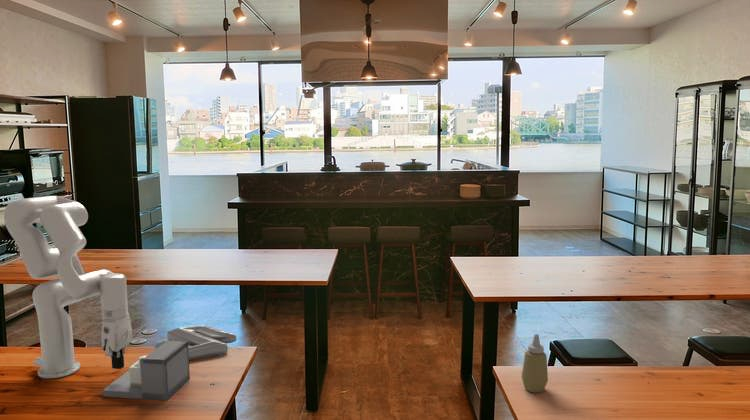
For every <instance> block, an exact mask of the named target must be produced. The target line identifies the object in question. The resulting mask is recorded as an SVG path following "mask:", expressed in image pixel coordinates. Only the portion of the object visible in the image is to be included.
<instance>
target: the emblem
mask: <svg viewBox="0 0 750 420" xmlns="http://www.w3.org/2000/svg"><path fill="white" fill-rule="evenodd" d="M166 334H167V338H166V340H174V341H188V353H189V361H193V360H201V359H205V357H207V358H211V357H210V356H212V357H215V356H214V355H217V356H220V355H219V354H223V355H226V354H225V353H227V354H228V351H229V350H228V345H227V344H232V343H234V342H236V341H237V336H236V335H235V334H234V333H230V332H228V331H227V332H226V331H224V330H221V329H218V328H215V327H212V326H207V325H197V326H185V327H177V328H174V329H171V330H169V331H168V330H167V333H166ZM162 344H163V341H162V342H157V343H156V344H154V350H155V349H157V348H158V347H159V346H161V345H162ZM200 358H201V359H200Z"/></svg>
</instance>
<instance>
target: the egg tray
mask: <svg viewBox="0 0 750 420" xmlns="http://www.w3.org/2000/svg"><path fill="white" fill-rule="evenodd" d="M146 356H147V355H142V356H140V357H138V360H137V361H136V362H135V363H133V364H132V365H131V366H129V368H128V369H129V370H128V371H130V385H131V386H142V385H141V370H140V358H141V357H146Z"/></svg>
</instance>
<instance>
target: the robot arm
mask: <svg viewBox="0 0 750 420" xmlns="http://www.w3.org/2000/svg"><path fill="white" fill-rule="evenodd" d="M3 211H4V212H3V221H4V225H5V227H6V229H7V231H8V233H9V234H10V236H11V238H12V239H13V240H14V242H15V243H16V246H17V248H18V251H19V253H20V256H21V258H22V261H23V264H24V266H25V269H26V271H27V272H28V273H27V274H29V276H30V277H31V279H35V280H42V279H47V278H51V277H52V278H53V277H55V276H57V277H58V278H56V279H55V278H54V279H52V280H47V281H45V282H43V283H40V284H38V285H37V286H36V287H34V289H33V291H32V301H33V304H34V307H35V311H36V315H37V322H38V330H39V332H38V333H39V341H40V342H39V343H40V351H41V356H36V357H35V359H34V361H33V363H32V365H33V366H39V369H38V370H37V376H38V377H39V378H42V379H57V378H62V377H66V376H69V375H72V374H74V373H75V372H77V371H78V370H80V368H81V363H80V361H78V360H76V359H75V348H74V337H73V336H74V334H73V325H72V324H73V323H72V318H71V315H70V314H69V313H68V312H67V311H66V309H65V308H64V307H66V306H68V305H72V304H74V303H78V302H81V301H83V300H85V299H87V298H88V299H89V298H92V297H94V296H97V295H98V296H99V295H100V307H101V310H100V311H101V320H102V321H101V335H100V336H101V337H100V339H101V340H100V341H101V348H102V350H103V352H104V353H105V354H104V356H105V357H110V359H111V367H112V369H113V370H122V369H123V368H124V367H125V359H124V358H125V357H124V355H125V351H126V350H125V349H126V347H127V346H128V345H129V344H131V343H132V341H133V338H134V337H133V327H132V326H133V325H132V321H131V317H130V314H129V305H128V304H129V303H128V289H127V287H128V285H127V277H126V275H125V274H123V273H116V272H112V271H111V270H109V269H98V270H95V271H91V272H86V273H85V270H84V269H83V267H82V266H83V265H82V264H81V263H82V262H81V261H80V259H79V256H78V254H77V253H79V252H80V251H81V250H83V249H84V248H85V246H86V245H87V239H86V237H85V236H84V234H83V232H82V231H81V229H80V228H79V227H81V226H84V225H85V224H86V223H87V222H88V220H89V219H88V218H89V214H88V211H87V209H86V207H85V206H84V205H83V204H81V203H80V202H78V201H76V200H72V199H69V198H66V197H62V196H59V195H46V196H37V197H36V196H35V197H28V198H21V199H16V200H13V201H12V202H9V203H8V204H7V205H6V207H5V208H4V210H3ZM36 223H37V224H38V223H41V225H42V227H43V228H44V230H45V232H46V234H47V235H48V236H49V238H50V241H52V243H53V244H54V246H55V247H51V245H50V244H49V242H48V239H47V237H46V235H45V234H44V233H43V232H42V231H41V229H39V228H37V227H36V226H34V225H33V224H36Z"/></svg>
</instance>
